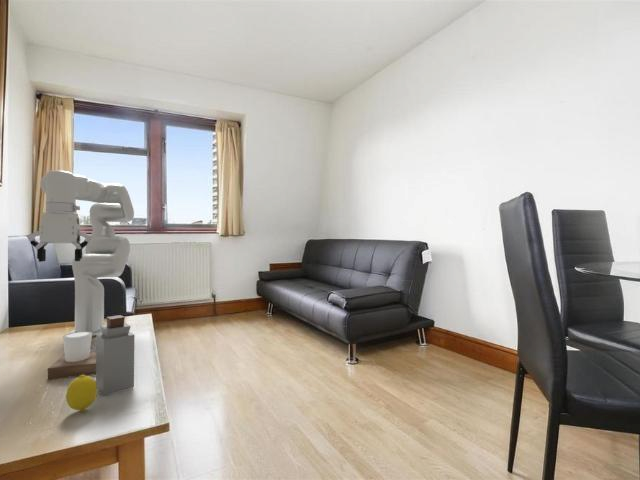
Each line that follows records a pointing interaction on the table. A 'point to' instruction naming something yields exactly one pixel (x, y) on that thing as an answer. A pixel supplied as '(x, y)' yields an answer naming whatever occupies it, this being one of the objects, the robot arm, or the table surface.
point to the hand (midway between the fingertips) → (60, 261)
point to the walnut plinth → (72, 367)
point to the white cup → (77, 346)
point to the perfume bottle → (114, 357)
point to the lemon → (81, 393)
